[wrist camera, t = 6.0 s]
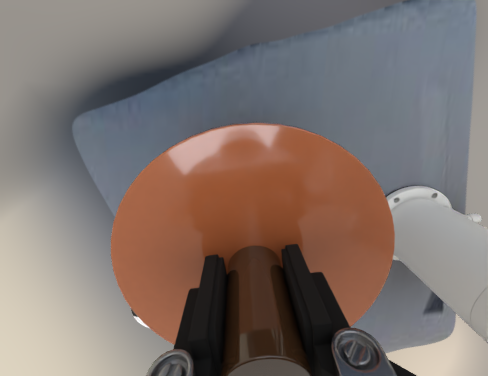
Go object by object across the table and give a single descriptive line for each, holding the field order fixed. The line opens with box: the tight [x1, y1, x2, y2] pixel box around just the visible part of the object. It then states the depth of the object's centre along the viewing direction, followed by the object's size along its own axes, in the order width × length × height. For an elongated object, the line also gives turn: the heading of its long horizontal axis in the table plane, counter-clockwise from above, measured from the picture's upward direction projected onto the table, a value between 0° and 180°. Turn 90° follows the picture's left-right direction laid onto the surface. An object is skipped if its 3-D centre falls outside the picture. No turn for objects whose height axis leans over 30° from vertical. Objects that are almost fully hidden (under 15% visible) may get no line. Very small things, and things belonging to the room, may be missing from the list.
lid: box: [111, 122, 395, 376], centre depth 9 cm, size 13×13×6 cm
